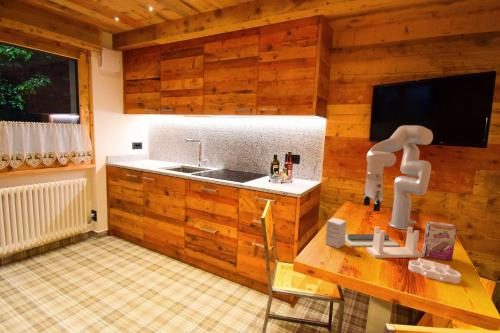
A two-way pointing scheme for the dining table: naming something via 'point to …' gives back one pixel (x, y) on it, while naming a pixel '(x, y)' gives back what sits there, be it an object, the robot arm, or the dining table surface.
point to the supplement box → (335, 232)
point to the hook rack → (395, 252)
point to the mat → (367, 242)
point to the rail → (364, 237)
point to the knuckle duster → (434, 270)
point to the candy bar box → (439, 240)
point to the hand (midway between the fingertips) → (371, 208)
